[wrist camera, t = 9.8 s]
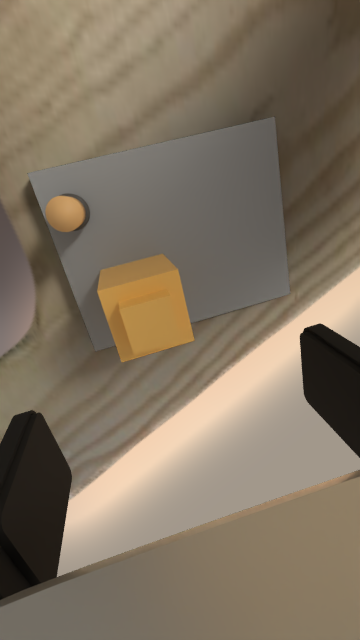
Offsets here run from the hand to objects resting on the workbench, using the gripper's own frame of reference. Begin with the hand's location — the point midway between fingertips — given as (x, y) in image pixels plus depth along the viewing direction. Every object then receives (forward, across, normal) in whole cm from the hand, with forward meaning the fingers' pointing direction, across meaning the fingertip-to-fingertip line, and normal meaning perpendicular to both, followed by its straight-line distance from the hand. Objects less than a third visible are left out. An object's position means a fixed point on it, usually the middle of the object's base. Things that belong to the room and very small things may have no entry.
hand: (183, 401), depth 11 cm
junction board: (+17, -3, -3) cm, 18 cm away
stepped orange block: (+16, 0, 0) cm, 16 cm away
